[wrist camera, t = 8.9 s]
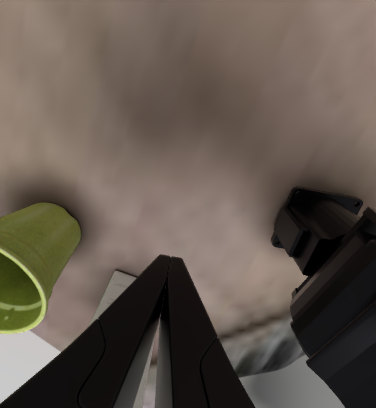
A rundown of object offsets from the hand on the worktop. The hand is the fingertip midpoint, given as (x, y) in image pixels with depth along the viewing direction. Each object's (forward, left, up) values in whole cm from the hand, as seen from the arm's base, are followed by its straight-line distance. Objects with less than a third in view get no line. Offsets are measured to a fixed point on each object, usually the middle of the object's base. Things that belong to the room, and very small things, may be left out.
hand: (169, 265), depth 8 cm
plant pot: (+13, +9, -13) cm, 21 cm away
